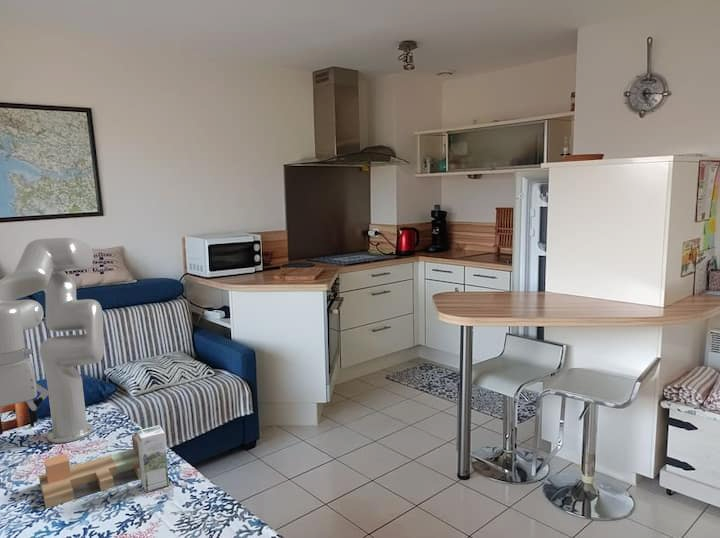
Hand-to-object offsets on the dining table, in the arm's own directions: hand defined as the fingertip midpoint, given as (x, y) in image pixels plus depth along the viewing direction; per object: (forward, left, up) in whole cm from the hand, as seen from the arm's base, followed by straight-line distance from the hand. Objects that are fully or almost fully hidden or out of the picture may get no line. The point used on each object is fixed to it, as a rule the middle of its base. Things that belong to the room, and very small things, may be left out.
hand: (16, 428), depth 131 cm
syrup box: (+16, +27, -18) cm, 36 cm away
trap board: (+4, +16, -18) cm, 24 cm away
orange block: (0, +8, -15) cm, 17 cm away
